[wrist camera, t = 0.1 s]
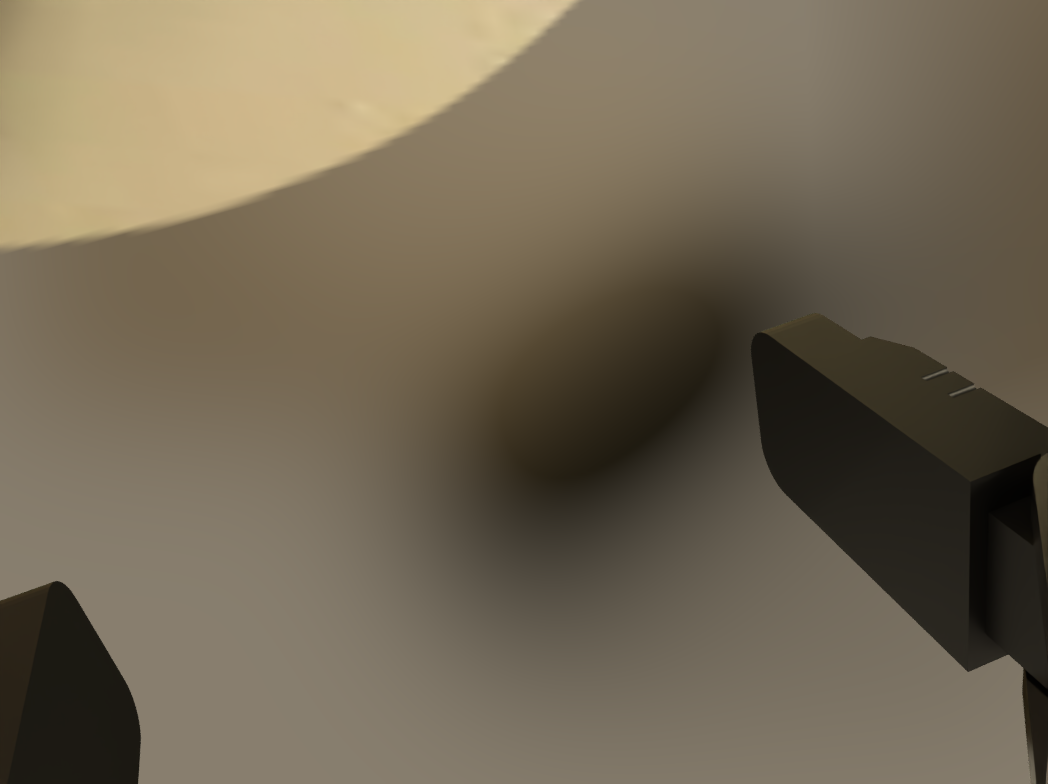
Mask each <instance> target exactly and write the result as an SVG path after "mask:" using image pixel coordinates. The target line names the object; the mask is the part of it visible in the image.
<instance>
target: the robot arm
mask: <svg viewBox="0 0 1048 784" xmlns="http://www.w3.org/2000/svg"><path fill="white" fill-rule="evenodd" d="M751 357H752V366H753V375H754V382H755V392H756V401H757V409H758V418H759V426H760V434H761V443H762V449H763V453H764V456H765V459H766V462H767V465H768V467H769V469H770V472H771V474H772V476H773V477H774V479H775V481H776V482H777V484H778V486H779V487H780V488H781V489H782V491H783V492H784V493H785V494H786V495H787V496H788V497H789V498H790V499H791V500H792V501H793V502H794V503H795V504H796V505H797V506H798V507H799V508H800V509H801V510H802V511H803V512H804V513H805V514H806V515H807V516H808V517H810V519H812V520H813V521H814V522H815V523H816V524H817V525H818V526H819V527H820V528H821V529H822V530H823V531H824V532H825V533H826V534H827V535H828V536H829V537H830V538H831V539H832V540H833V541H834V542H835V543H836V544H837V545H838V546H839V547H840V548H841V549H842V550H843V551H844V552H845V553H846V554H847V555H849V556H850V557H851V558H852V559H853V560H854V561H855V562H856V563H857V564H858V565H859V566H860V567H861V568H862V569H863V570H864V571H865V572H866V573H867V574H868V575H869V576H870V577H871V578H872V579H873V580H874V581H875V582H876V583H877V584H878V585H879V586H880V587H881V588H882V589H883V590H884V591H886V593H887V594H889V595H890V596H891V597H892V598H893V599H894V600H895V601H896V602H897V603H898V604H899V605H900V606H901V607H902V608H903V609H904V610H905V611H906V612H907V613H908V614H909V615H910V616H911V617H912V618H913V619H914V620H915V621H916V622H917V623H918V624H919V625H920V626H921V627H922V628H923V629H924V630H926V632H928V633H929V634H930V635H931V636H932V637H933V638H934V639H935V640H936V641H937V642H938V643H939V644H940V645H941V646H942V647H943V648H944V649H945V650H946V651H947V652H948V653H949V654H950V655H951V656H952V657H953V658H954V659H955V660H956V661H957V662H958V663H959V664H961V665H962V666H963V667H964V668H965V669H966V670H967V671H968V672H969V671H971V670H974V669H976V668H978V667H981V666H983V665H985V664H987V663H990V662H992V661H994V660H997V659H999V658H1001V657H1003V656H1006V655H1008V654H1009V655H1010V656H1011V657H1012V658H1013V659H1014V660H1015V661H1016V662H1018V663H1019V664H1020V665H1021V666H1022V667H1023V685H1022V695H1023V706H1024V717H1025V728H1026V738H1027V750H1028V761H1029V772H1030V783H1031V784H1048V427H1046V426H1044V425H1042V424H1041V423H1039V422H1037V421H1036V420H1034V419H1033V418H1031V417H1029V416H1028V415H1026V414H1024V413H1023V412H1021V411H1019V410H1017V409H1016V408H1014V407H1013V406H1011V405H1009V404H1008V403H1006V402H1004V401H1003V400H1001V399H999V398H997V397H996V396H994V395H992V394H991V393H989V392H987V391H986V390H984V389H982V388H979V389H976V388H975V386H974V383H972V382H971V381H969V380H967V379H966V378H964V377H962V376H961V375H959V374H957V373H956V372H954V371H953V372H950V373H949V372H948V370H947V367H946V366H944V365H942V364H941V363H939V362H937V361H936V360H934V359H932V358H931V357H929V356H927V355H926V354H924V353H922V352H920V351H919V350H917V349H915V348H913V347H909V346H905V345H902V344H897V343H893V342H890V341H886V340H882V339H878V338H874V337H868V338H865V339H862V340H861V339H860V338H858V337H857V336H855V335H853V334H852V333H850V332H849V331H847V330H845V329H844V328H842V327H841V326H839V325H838V324H836V323H834V322H833V321H831V320H830V319H828V318H826V317H825V316H823V315H821V314H818V313H812V314H809V315H807V316H804V317H801V318H798V319H796V320H792V321H790V322H787V323H784V324H781V325H778V326H776V327H773V328H770V329H767V330H764V331H761V332H759V333H757V334H756V335H755V336H754V337H753V340H752V344H751ZM140 741H141V735H140V725H139V719H138V714H137V710H136V707H135V703H134V700H133V697H132V695H131V692H130V690H129V688H128V685H127V684H126V682H125V680H124V678H123V676H122V675H121V673H120V671H119V670H118V668H117V666H116V665H115V663H114V661H113V660H112V658H111V657H110V655H109V653H108V651H107V650H106V648H105V646H104V645H103V643H102V641H101V639H100V638H99V636H98V635H97V633H96V631H95V630H94V628H93V626H92V625H91V623H90V621H89V619H88V618H87V616H86V615H85V613H84V611H83V609H82V608H81V606H80V604H79V603H78V601H77V599H76V598H75V596H74V595H73V593H72V592H71V590H70V589H69V588H68V587H67V586H66V585H65V584H63V583H62V582H59V581H55V582H52V583H49V584H46V585H44V586H41V587H38V588H35V589H32V590H29V591H27V592H24V593H21V594H18V595H15V596H13V597H10V598H7V599H4V600H1V601H0V784H138V776H139V760H140V744H141V742H140Z"/></svg>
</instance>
